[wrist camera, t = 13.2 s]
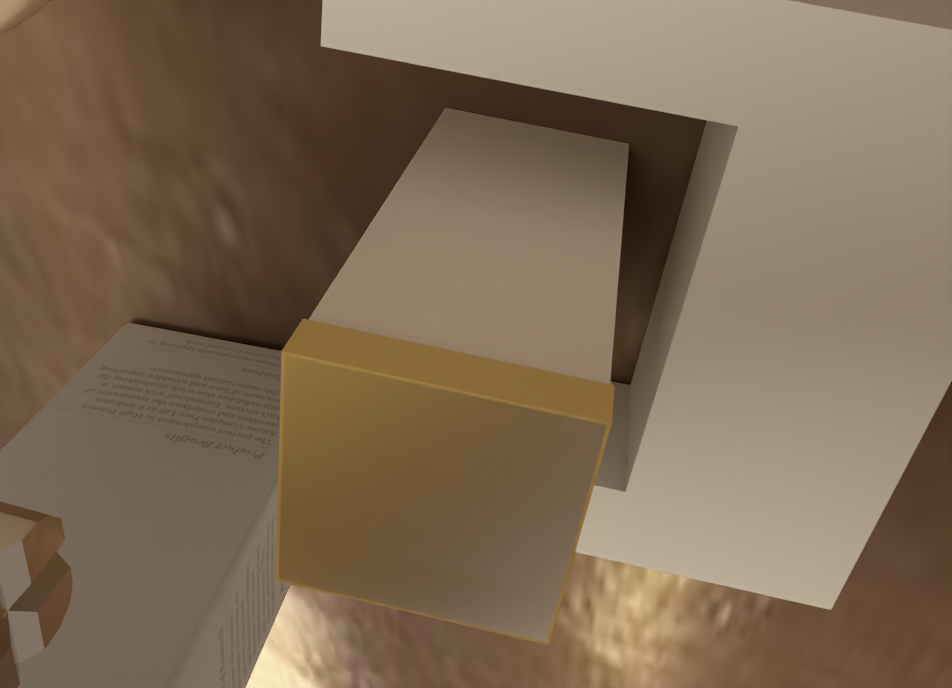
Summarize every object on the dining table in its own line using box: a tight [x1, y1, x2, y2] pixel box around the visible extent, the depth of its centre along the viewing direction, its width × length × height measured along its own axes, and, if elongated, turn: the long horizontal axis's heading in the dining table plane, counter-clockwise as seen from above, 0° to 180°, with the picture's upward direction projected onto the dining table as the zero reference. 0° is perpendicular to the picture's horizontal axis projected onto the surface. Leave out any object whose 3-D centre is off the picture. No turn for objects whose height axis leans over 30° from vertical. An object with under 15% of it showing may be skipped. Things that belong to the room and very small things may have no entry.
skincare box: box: [0, 323, 290, 688], centre depth 20 cm, size 6×4×12 cm
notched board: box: [321, 0, 952, 610], centre depth 18 cm, size 12×14×4 cm
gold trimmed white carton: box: [275, 108, 629, 645], centre depth 16 cm, size 4×4×10 cm
